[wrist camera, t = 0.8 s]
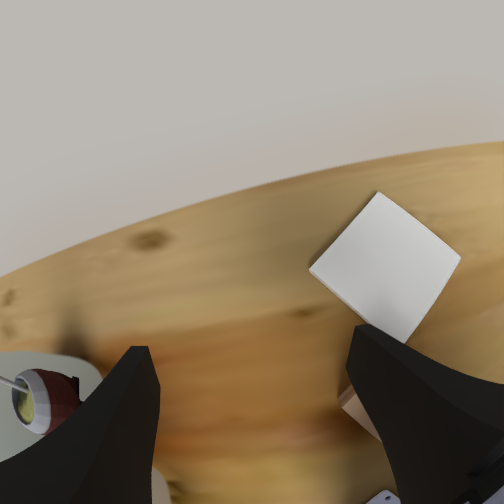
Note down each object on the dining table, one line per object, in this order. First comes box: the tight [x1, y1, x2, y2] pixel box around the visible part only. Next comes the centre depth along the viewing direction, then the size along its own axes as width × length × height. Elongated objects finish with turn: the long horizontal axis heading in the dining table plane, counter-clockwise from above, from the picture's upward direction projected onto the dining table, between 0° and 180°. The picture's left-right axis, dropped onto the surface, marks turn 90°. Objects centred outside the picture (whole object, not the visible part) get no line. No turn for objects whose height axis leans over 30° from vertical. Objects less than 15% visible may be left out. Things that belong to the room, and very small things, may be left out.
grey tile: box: [309, 191, 461, 343], centre depth 22 cm, size 10×10×1 cm
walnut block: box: [337, 384, 382, 443], centre depth 16 cm, size 5×5×5 cm
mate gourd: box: [0, 369, 83, 435], centre depth 17 cm, size 8×8×15 cm
